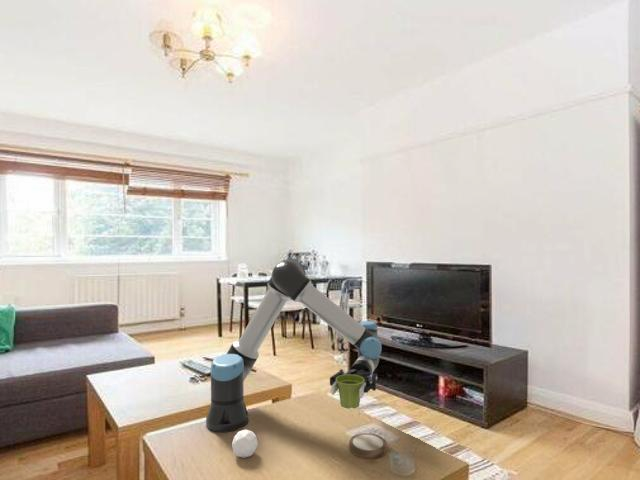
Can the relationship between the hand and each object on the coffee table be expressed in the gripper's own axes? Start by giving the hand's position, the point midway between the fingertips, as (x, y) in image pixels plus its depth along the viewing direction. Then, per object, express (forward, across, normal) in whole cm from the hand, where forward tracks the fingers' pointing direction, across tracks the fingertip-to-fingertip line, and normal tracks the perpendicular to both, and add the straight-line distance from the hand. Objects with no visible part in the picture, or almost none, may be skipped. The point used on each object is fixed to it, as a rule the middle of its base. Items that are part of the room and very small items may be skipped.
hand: (346, 392), depth 129 cm
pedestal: (-3, -6, -19) cm, 20 cm away
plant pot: (-5, 0, -6) cm, 8 cm away
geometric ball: (+13, +29, -19) cm, 37 cm away
